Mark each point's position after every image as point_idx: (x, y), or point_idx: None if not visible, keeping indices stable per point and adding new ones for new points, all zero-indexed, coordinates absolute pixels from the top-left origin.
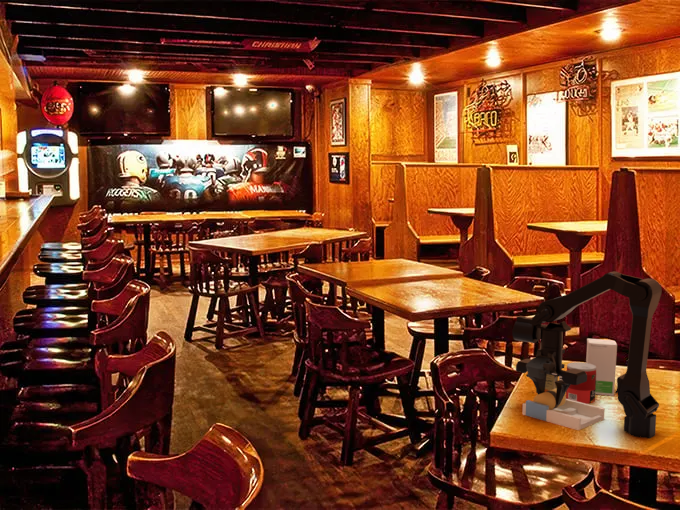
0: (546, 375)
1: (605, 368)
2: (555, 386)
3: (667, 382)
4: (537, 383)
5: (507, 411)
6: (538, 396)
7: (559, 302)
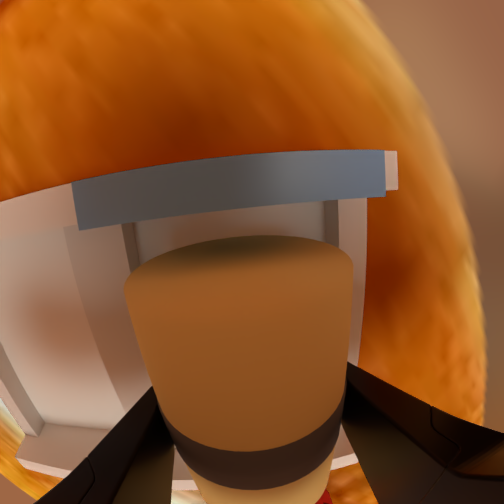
0: None
1: None
2: None
3: None
4: (448, 458)
5: (453, 191)
6: (300, 291)
7: None
